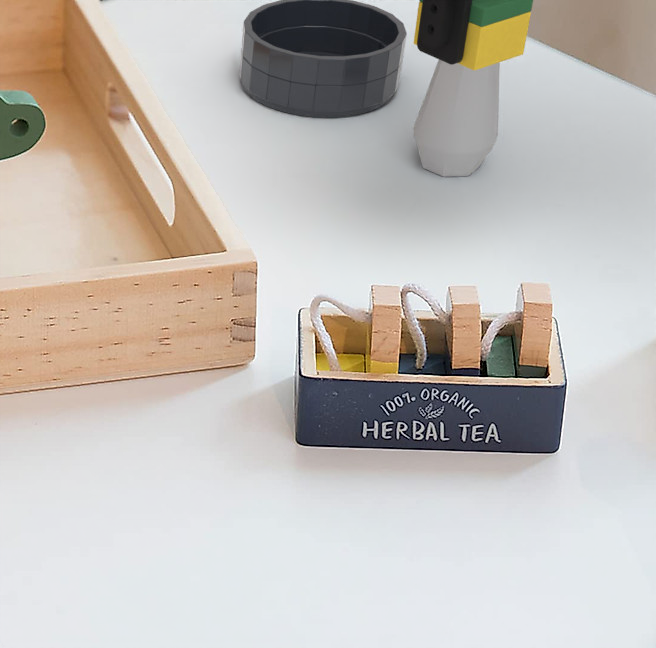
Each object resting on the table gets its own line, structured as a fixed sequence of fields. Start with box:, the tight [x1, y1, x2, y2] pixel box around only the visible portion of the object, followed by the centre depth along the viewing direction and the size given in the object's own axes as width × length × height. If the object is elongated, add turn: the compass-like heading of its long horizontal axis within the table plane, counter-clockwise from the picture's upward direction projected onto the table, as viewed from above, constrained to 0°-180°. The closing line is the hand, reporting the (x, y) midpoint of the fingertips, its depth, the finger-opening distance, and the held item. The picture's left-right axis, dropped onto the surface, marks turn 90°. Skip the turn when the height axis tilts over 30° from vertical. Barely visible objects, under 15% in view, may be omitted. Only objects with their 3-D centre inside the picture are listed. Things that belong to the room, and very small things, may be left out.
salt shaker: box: [412, 59, 501, 178], centre depth 104 cm, size 6×6×13 cm
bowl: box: [239, 0, 408, 118], centre depth 117 cm, size 12×12×5 cm
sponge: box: [413, 0, 534, 71], centre depth 89 cm, size 4×5×4 cm
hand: (469, 43), depth 89 cm, fingers closed on sponge, 4 cm apart
